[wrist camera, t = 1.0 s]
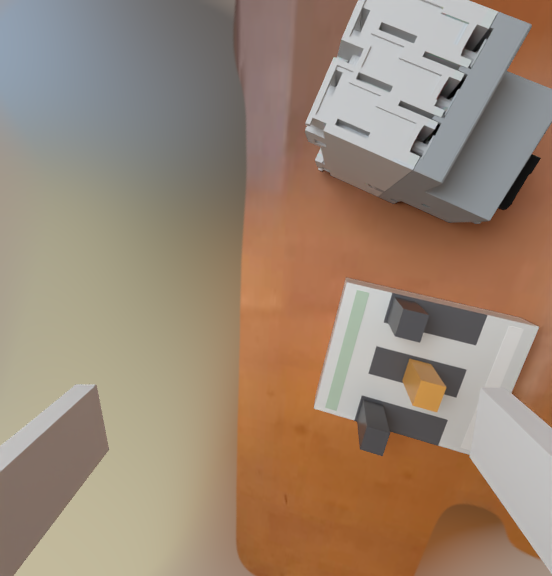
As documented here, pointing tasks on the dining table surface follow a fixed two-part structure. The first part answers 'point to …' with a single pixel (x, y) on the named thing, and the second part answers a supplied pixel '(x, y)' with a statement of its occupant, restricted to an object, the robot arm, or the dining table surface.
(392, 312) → the block
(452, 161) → the circuit breaker
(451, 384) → the panel
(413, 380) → the block
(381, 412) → the block
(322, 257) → the dining table surface
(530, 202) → the dining table surface
